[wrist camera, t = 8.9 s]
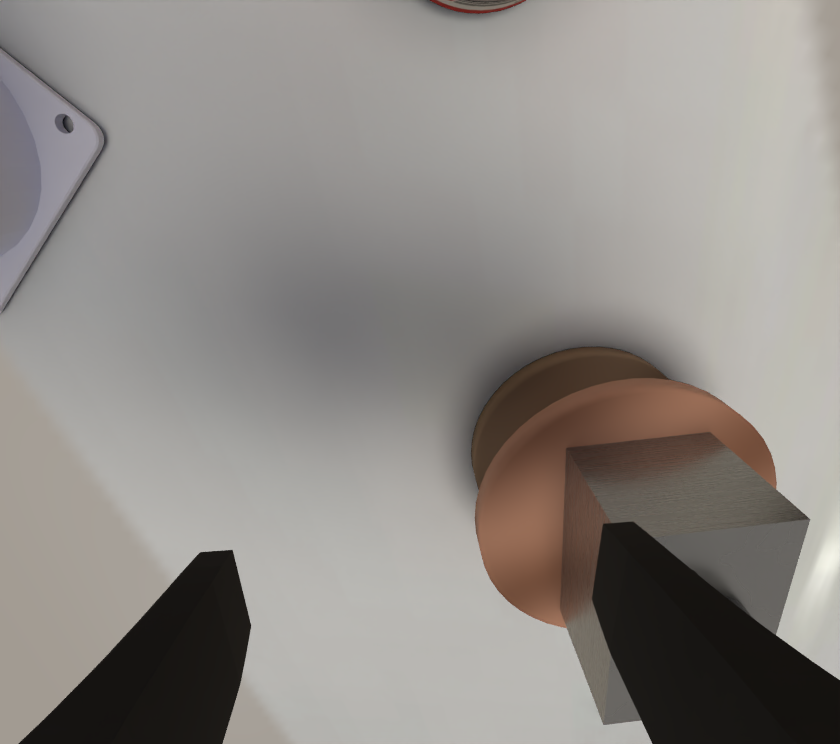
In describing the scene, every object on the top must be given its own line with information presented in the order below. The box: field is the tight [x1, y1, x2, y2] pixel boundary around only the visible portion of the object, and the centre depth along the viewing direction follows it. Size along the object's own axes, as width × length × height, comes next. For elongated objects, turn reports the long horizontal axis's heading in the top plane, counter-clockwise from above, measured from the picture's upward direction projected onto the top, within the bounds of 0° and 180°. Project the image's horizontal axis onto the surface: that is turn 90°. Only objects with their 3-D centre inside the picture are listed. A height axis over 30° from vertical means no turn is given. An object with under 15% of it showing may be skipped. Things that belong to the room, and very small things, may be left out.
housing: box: [560, 432, 810, 725], centre depth 15 cm, size 4×7×5 cm, turn 5°
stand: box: [471, 347, 777, 628], centre depth 19 cm, size 10×10×5 cm
